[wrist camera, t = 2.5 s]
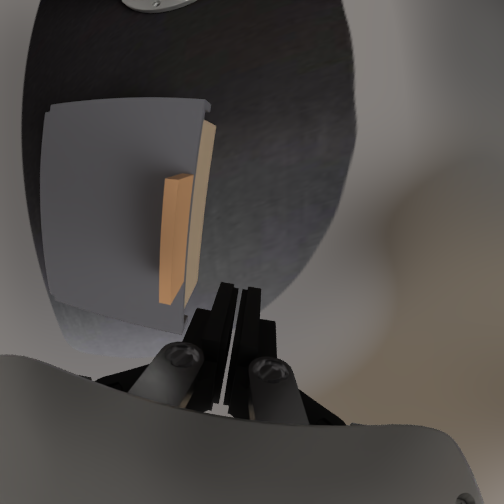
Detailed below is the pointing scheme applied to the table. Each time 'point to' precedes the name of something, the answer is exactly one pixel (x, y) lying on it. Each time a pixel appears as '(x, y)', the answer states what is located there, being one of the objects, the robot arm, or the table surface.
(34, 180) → the table surface
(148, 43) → the table surface
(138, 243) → the lid
